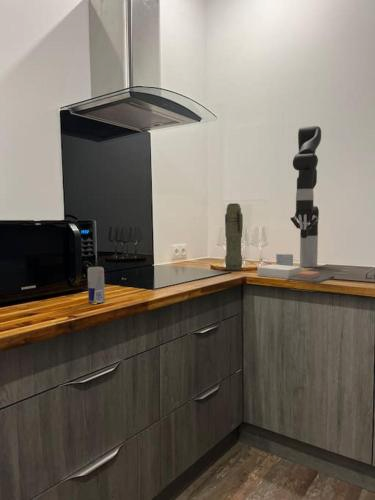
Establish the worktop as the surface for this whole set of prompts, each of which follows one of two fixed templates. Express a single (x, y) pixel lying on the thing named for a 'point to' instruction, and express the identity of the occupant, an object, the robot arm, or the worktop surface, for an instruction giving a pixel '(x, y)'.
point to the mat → (314, 280)
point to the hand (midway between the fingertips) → (304, 238)
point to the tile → (308, 274)
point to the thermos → (233, 237)
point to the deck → (278, 271)
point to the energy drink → (96, 285)
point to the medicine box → (284, 259)
